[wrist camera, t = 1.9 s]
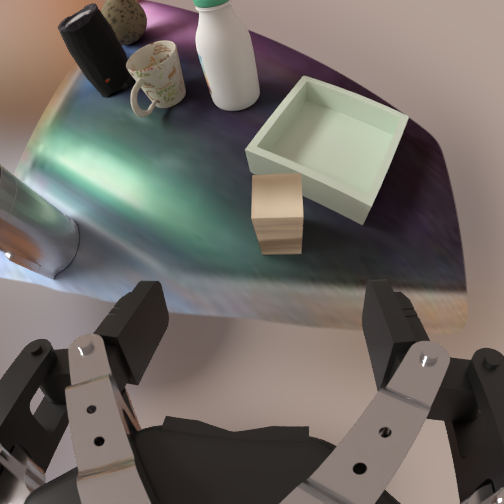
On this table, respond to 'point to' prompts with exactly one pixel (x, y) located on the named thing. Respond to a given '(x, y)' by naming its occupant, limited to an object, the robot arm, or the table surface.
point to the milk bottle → (226, 55)
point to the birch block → (278, 212)
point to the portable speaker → (96, 50)
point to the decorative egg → (125, 19)
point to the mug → (156, 76)
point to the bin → (329, 145)
